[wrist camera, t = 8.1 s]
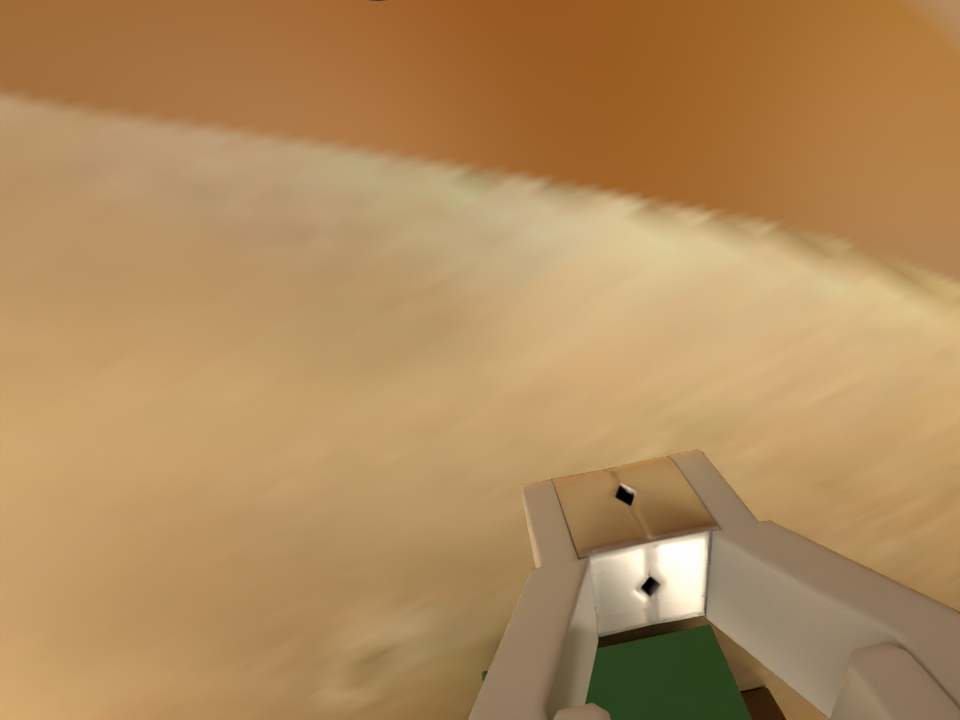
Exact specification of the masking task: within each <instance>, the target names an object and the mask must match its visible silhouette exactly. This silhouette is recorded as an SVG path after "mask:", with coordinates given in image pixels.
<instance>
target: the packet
mask: <svg viewBox="0 0 960 720" xmlns="http://www.w3.org/2000/svg"><path fill="white" fill-rule="evenodd" d="M487 673H488V671H484V672H482V680H483V682H484V680H485V677H486V675H487ZM589 703H594V704H596V705H597V706H599V707H600V708H602V709H604V710H605V711H607V712H609V715H610V718H611V720H752V718H751V716H750V713H749V711H748V709H747V707H746V704H745V702H744V700H743V698H742V695H741V693H740V691H739V689H738V686H737V684H736V682H735V680H734V677H733V675H732V673H731V671H730V668H729V666H728V664H727V662H726V659H725V657H724V655H723V653H722V650H721V648H720V646H719V644H718V641H717V639H716V637H715V635H714V632H713V630H712V628H711V626H710V625H706V626H701V627H696V628H691V629H686V630H682V631H677V632H672V633H667V634H662V635H658V636H653V637H648V638H643V639H638V640H633V641H629V642H624V643H619V644H614V645H609V646H604V647H600V648H597V650H596V655H595V660H594V664H593V669H592V674H591V678H590V683H589V687H588V692H587V697H586V701H585V704H589Z"/></svg>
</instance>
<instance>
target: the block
mask: <svg viewBox="0 0 960 720" xmlns="http://www.w3.org/2000/svg"><path fill="white" fill-rule="evenodd" d="M741 695H742V698H743V700H744V702H745V704H746V707H747V709H748V711H749V713H750V716H751V718H752V720H786V718H785V716H784V715H783V713H782V711H781V710H780V708H779V706H778V705H777V703H776V701H775V699H774V698H773V696H772V694H771V693H770V691H769V689H768V688H763V689H758V690H753V691H748V692H743V693H741Z"/></svg>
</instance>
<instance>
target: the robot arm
mask: <svg viewBox="0 0 960 720" xmlns="http://www.w3.org/2000/svg"><path fill="white" fill-rule="evenodd" d="M521 491H522V497H523V502H524V508H525V514H526V519H527V525H528V531H529V536H530V541H531V546H532V551H533V557H534V562H535V566H536V568H535V569H531V571H530V574H529V576H528V579H527V581H526V583H525V586H524V588H523V590H522V593H521V595H520V597H519V600H518V602H517V604H516V607H515V609H514V612H513V614H512V616H511V619H510V621H509V623H508V626H507V628H506V630H505V633H504V635H503V637H502V640H501V642H500V644H499V647H498V649H497V652H496V654H495V656H494V659H493V661H492V663H491V666H490V668H489V670H488V673H487V675H486V677H485V680H484V682H483V684H482V687H481V689H480V692H479V694H478V696H477V699H476V701H475V703H474V706H473V708H472V710H471V713H470V715H469V717H468V720H611V718H610V715H609V712H607V711H605V710H604V709H602V708H600V707H599V706H597V705H596V704H594V703H589V704H585V701H586V697H587V692H588V687H589V683H590V678H591V674H592V669H593V664H594V660H595V655H596V650H597V646H598V637H602V636H606V635H610V634H615V633H619V632H623V631H627V630H632V629H636V628H640V627H644V626H648V625H654V624H659V623H665V622H671V621H676V620H682V619H688V618H693V617H699V616H705V615H706V619H707V620H709V621H710V622H711V623H712V624H714V625H715V626H716V627H717V628H718V629H720V630H721V631H722V632H723V633H725V634H726V635H727V636H728V637H730V638H731V639H732V640H733V641H734V642H736V643H737V644H738V645H739V646H741V647H742V648H743V649H744V650H746V651H747V652H748V653H749V654H750V655H752V656H753V657H754V658H755V659H757V660H758V661H759V662H760V663H762V664H763V665H764V666H765V667H766V668H768V669H769V670H770V671H771V672H773V673H774V674H775V675H776V676H778V677H779V678H780V679H781V680H782V681H784V682H785V683H786V684H787V685H789V686H790V687H791V688H792V689H793V690H795V691H796V692H797V693H798V694H800V695H801V696H802V697H803V698H805V699H806V700H807V701H808V702H809V703H811V704H812V705H813V706H814V707H816V708H817V709H818V710H819V711H821V712H822V713H823V714H824V715H825V716H827V717H828V718H829V719H830V720H960V612H958V611H956V610H954V609H952V608H950V607H948V606H946V605H944V604H942V603H940V602H938V601H936V600H933V599H931V598H929V597H927V596H925V595H923V594H921V593H919V592H917V591H915V590H913V589H911V588H909V587H907V586H904V585H902V584H900V583H898V582H896V581H894V580H892V579H890V578H888V577H886V576H884V575H882V574H880V573H877V572H875V571H873V570H871V569H869V568H867V567H865V566H863V565H861V564H859V563H857V562H855V561H853V560H851V559H848V558H846V557H844V556H842V555H840V554H838V553H836V552H834V551H832V550H830V549H828V548H826V547H824V546H821V545H819V544H817V543H815V542H813V541H811V540H809V539H807V538H805V537H803V536H801V535H799V534H797V533H795V532H792V531H790V530H788V529H786V528H784V527H782V526H780V525H778V524H776V523H774V522H772V521H764V522H759V521H758V520H757V518H756V517H755V516H754V515H753V513H752V512H751V511H750V510H749V508H748V507H747V506H746V505H745V504H744V502H743V501H742V500H741V499H740V497H739V496H738V495H737V494H736V493H735V491H734V490H733V489H732V488H731V486H730V485H729V484H728V483H727V481H726V480H725V479H724V478H723V477H722V475H721V474H720V473H719V472H718V470H717V469H716V468H715V467H714V465H713V464H712V463H711V462H710V461H709V459H708V458H707V457H706V456H705V454H704V453H703V452H701V451H699V450H697V449H696V450H691V451H686V452H682V453H677V454H673V455H668V456H667V457H660V458H655V459H651V460H646V461H641V462H637V463H632V464H627V465H623V466H618V467H613V468H608V469H605V470H599V471H593V472H588V473H582V474H577V475H571V476H566V477H560V478H554V479H551V481H550V480H548V481H542V482H536V483H530V484H524V485H521Z"/></svg>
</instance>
